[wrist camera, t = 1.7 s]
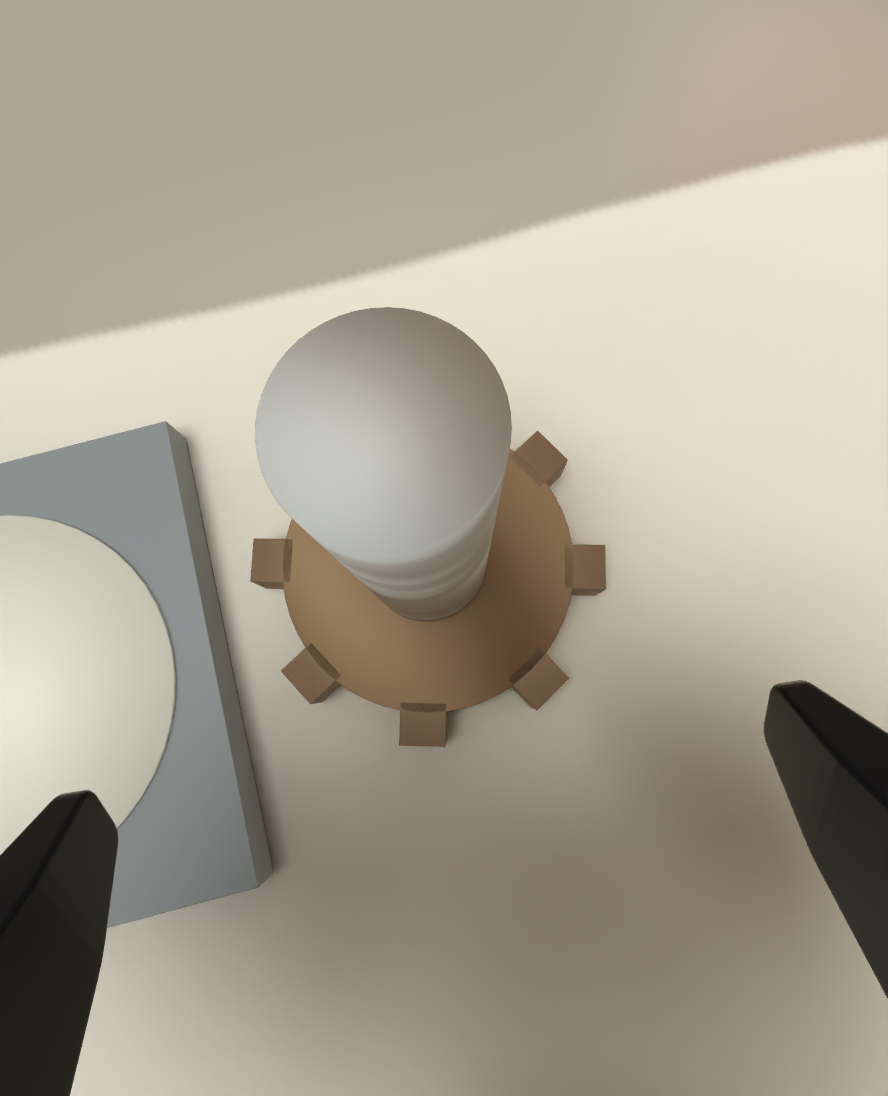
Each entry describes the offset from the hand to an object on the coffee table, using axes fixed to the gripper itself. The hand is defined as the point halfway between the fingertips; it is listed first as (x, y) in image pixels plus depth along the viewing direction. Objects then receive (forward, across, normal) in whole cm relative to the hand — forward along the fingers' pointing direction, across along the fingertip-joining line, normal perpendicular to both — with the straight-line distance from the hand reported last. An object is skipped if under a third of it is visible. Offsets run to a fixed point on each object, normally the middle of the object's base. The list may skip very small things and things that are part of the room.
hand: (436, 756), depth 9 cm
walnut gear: (+11, 0, +5) cm, 12 cm away
